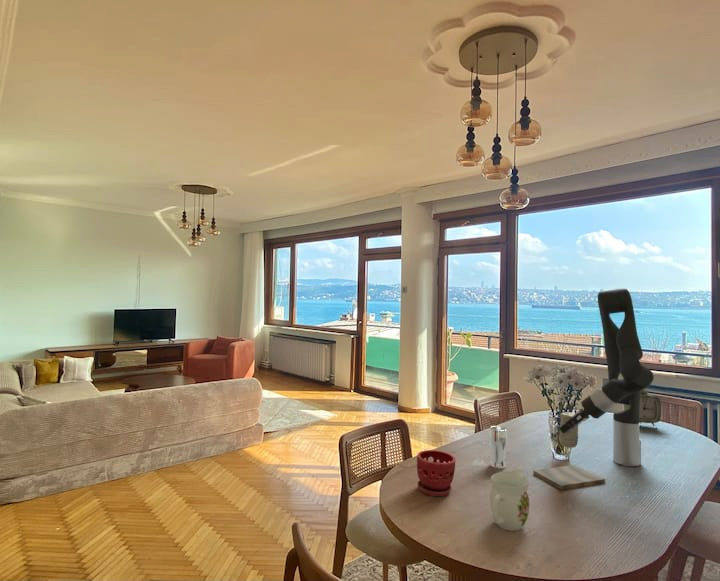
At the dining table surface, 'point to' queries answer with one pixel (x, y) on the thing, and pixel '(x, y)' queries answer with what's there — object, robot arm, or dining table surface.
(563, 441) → the carving
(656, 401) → the tabletop clock
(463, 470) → the dining table surface
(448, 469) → the plant pot
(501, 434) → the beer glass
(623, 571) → the dining table surface
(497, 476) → the pitcher
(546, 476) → the walnut board
